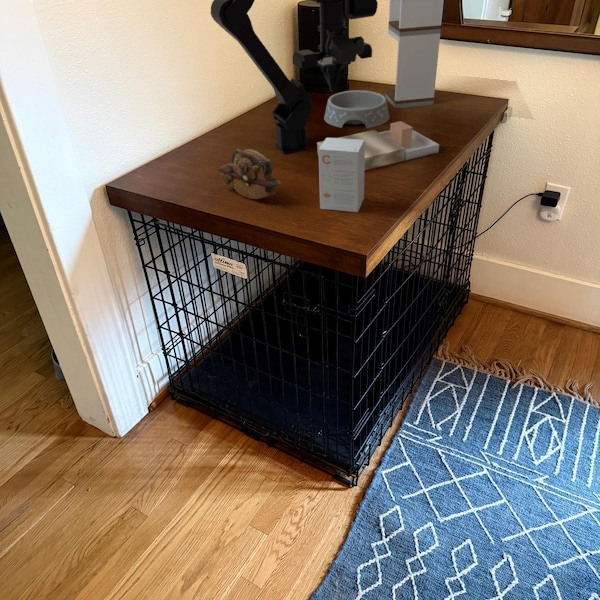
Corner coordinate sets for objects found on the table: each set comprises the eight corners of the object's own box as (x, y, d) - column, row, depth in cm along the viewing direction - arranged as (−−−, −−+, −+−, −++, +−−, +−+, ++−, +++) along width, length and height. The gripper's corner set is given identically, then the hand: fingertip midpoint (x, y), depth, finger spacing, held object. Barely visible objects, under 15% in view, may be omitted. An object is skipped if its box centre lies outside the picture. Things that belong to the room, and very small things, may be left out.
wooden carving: (215, 192, 124) (208, 148, 118) (228, 184, 127) (222, 141, 121) (274, 209, 116) (271, 164, 110) (287, 200, 119) (284, 156, 113)
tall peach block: (402, 129, 133) (412, 127, 134) (390, 123, 137) (400, 121, 138) (400, 149, 136) (411, 147, 137) (389, 143, 140) (399, 140, 141)
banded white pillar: (421, 93, 172) (432, -40, 150) (433, 104, 163) (447, -35, 142) (385, 97, 170) (391, -37, 149) (395, 108, 162) (403, -32, 141)
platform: (344, 175, 128) (344, 162, 126) (317, 154, 138) (317, 142, 136) (404, 160, 133) (405, 148, 131) (373, 141, 143) (374, 129, 141)
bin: (405, 160, 133) (405, 152, 132) (374, 141, 143) (375, 133, 142) (438, 152, 136) (439, 144, 134) (406, 134, 146) (406, 126, 145)
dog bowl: (388, 129, 150) (389, 109, 147) (320, 128, 152) (320, 109, 149) (390, 108, 163) (391, 89, 160) (327, 107, 166) (327, 89, 163)
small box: (364, 199, 118) (365, 139, 110) (357, 213, 113) (359, 151, 105) (326, 195, 120) (326, 136, 112) (319, 209, 115) (317, 148, 108)
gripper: (311, 34, 120) (313, 107, 130) (385, 22, 126) (382, 93, 135) (289, 25, 128) (293, 94, 138) (361, 14, 134) (359, 82, 144)
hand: (333, 91), depth 138 cm, fingers closed
